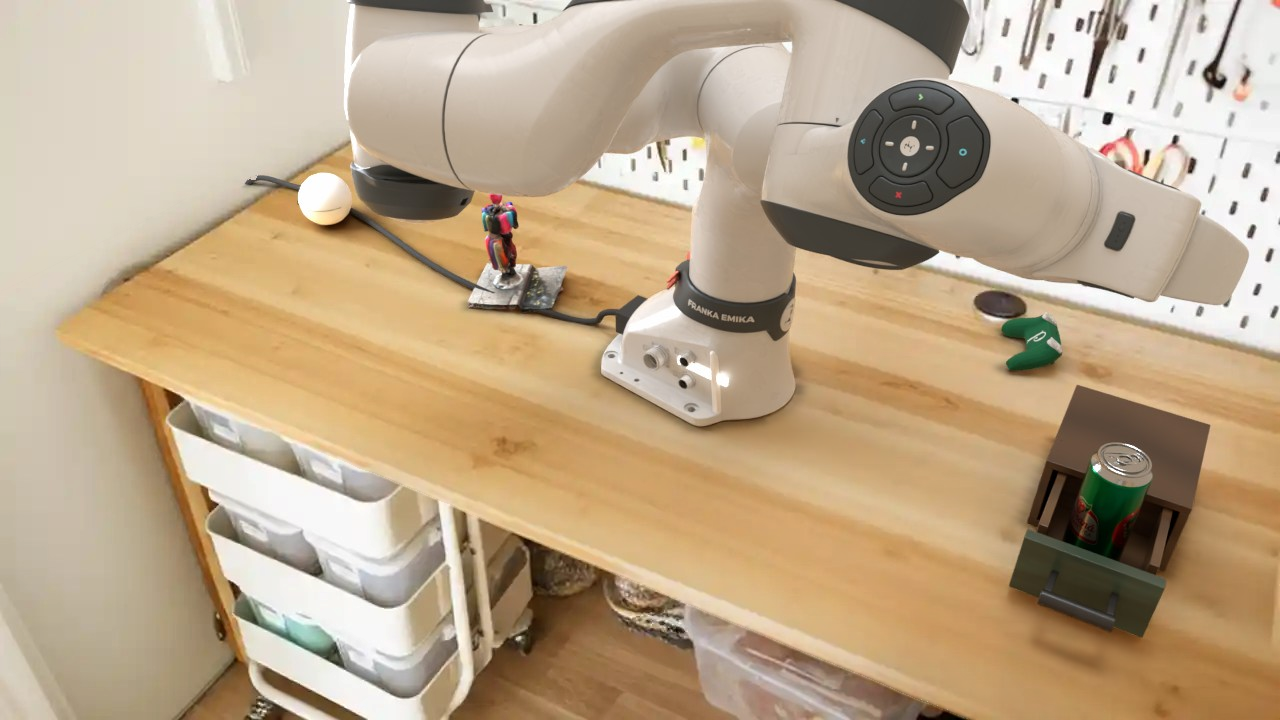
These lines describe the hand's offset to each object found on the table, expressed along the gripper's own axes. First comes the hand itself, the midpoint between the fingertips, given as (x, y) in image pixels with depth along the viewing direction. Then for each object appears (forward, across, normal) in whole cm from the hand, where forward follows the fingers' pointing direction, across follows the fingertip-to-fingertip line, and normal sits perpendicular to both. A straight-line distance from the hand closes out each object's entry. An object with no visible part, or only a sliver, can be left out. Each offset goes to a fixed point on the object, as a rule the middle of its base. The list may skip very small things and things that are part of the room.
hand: (1115, 243), depth 74 cm
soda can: (+22, +1, -26) cm, 35 cm away
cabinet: (+32, -2, -23) cm, 40 cm away
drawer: (+22, +2, -28) cm, 35 cm away
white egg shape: (-1, -104, -32) cm, 109 cm away
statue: (+10, -72, -29) cm, 78 cm away
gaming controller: (+46, -22, -14) cm, 53 cm away
